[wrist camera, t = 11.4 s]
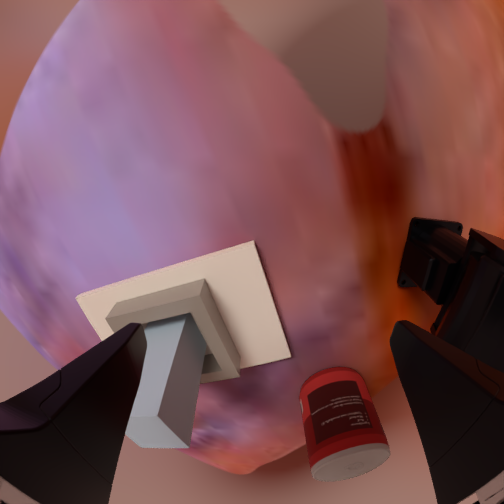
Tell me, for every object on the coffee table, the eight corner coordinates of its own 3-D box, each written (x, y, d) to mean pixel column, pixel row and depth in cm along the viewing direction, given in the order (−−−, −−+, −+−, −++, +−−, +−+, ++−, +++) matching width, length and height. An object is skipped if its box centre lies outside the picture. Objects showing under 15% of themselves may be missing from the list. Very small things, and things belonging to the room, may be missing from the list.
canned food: (330, 412, 30) (347, 483, 20) (283, 395, 29) (293, 479, 18) (375, 377, 28) (405, 451, 18) (330, 355, 26) (358, 445, 16)
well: (253, 240, 21) (254, 258, 18) (290, 351, 26) (294, 376, 23) (79, 293, 23) (62, 312, 20) (135, 379, 28) (127, 400, 25)
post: (188, 309, 23) (157, 415, 13) (206, 344, 24) (189, 447, 14) (149, 319, 23) (106, 416, 13) (169, 351, 25) (140, 447, 15)
